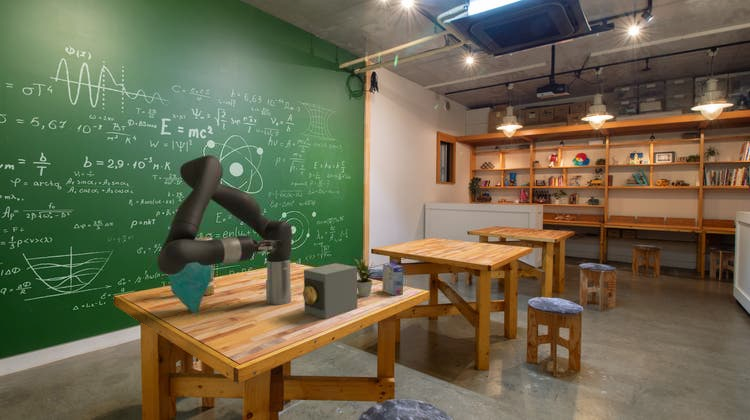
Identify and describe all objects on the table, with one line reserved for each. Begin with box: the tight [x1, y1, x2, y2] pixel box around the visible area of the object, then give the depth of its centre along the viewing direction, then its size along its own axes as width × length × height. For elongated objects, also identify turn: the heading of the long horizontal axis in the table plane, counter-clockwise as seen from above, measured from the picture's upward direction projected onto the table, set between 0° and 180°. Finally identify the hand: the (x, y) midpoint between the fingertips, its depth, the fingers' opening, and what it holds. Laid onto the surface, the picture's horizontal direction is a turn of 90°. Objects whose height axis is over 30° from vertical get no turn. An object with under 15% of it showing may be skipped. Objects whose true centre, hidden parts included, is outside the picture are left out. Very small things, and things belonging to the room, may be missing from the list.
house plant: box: [348, 258, 378, 298], centre depth 161 cm, size 14×14×16 cm
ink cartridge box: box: [382, 259, 404, 296], centre depth 163 cm, size 10×6×14 cm, turn 27°
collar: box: [303, 277, 324, 311], centre depth 134 cm, size 1×10×10 cm, turn 49°
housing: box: [303, 262, 358, 320], centre depth 140 cm, size 16×12×16 cm
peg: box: [302, 285, 319, 304], centre depth 137 cm, size 15×6×6 cm, turn 139°
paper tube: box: [196, 236, 215, 296], centre depth 163 cm, size 7×7×25 cm
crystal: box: [167, 237, 211, 313], centre depth 139 cm, size 12×14×30 cm
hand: (282, 243), depth 123 cm, fingers closed
